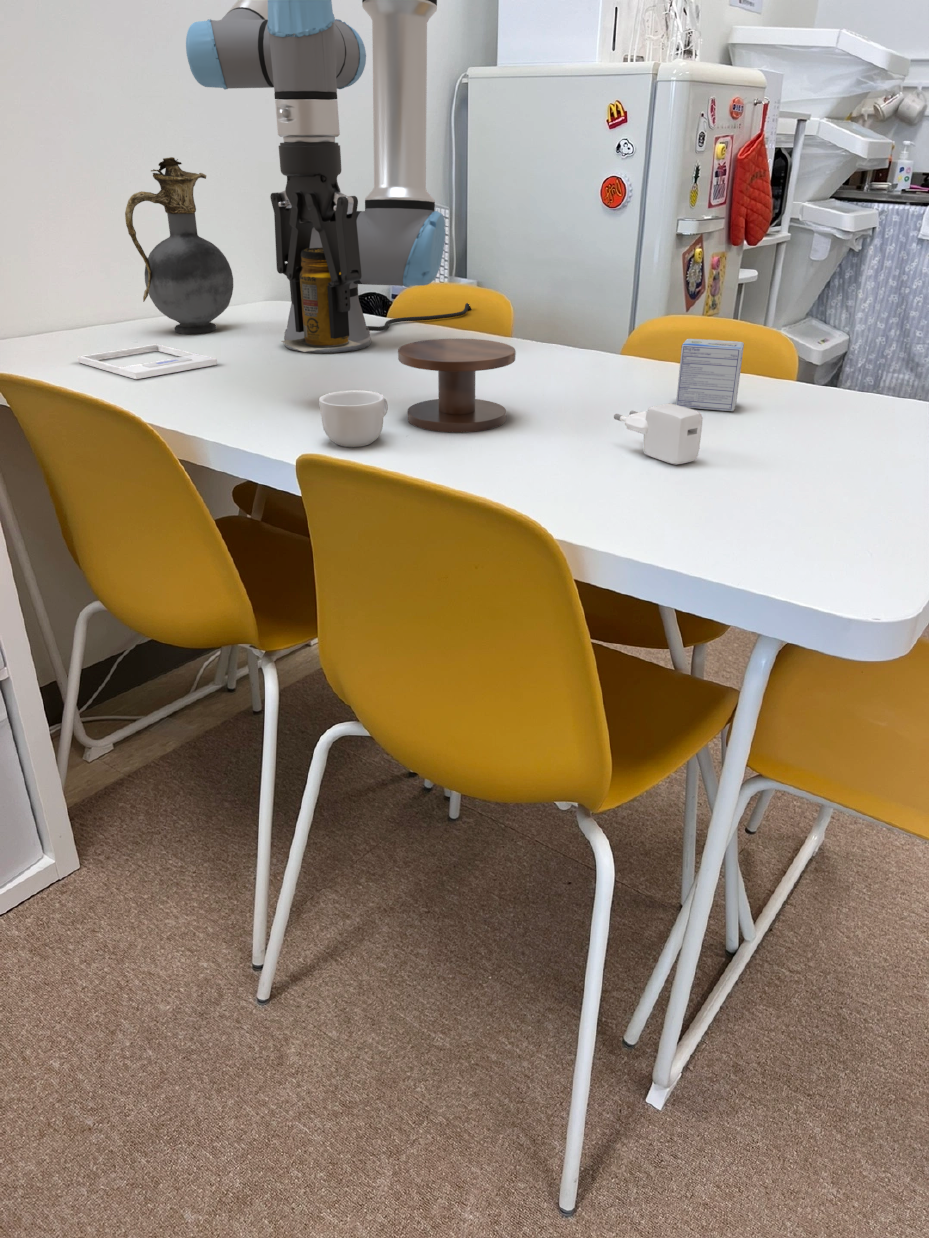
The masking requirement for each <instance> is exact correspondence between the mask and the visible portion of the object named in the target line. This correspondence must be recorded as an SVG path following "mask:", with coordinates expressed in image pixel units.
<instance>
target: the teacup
mask: <svg viewBox="0 0 929 1238" xmlns="http://www.w3.org/2000/svg"><path fill="white" fill-rule="evenodd" d="M318 406H319V411H320V417H321V418H320V419H321V425H322V428H323V431H324V433H325V435H326V436H327V438H328V439H329V440H330V441H331V442H333V443H334V444H335V445H337V446H340V447H344V448H361V447H366V446H369V445H371V444H372V443H374V441H376V440H377V439H378V438H379V436H380V435H381V433H382V431H383V427H384V418H385V417H386V415H387V413H388V410H389V404H388V401H387V399H386V398H385V396H384V394H382V393H380V392H377V391H373V390H372V391H371V390H362V389H361V390H360V389H353V390H351V389H349V390H348V389H347V390H339V391H332V392H329V393H326V394H323V395H321V396H319V398H318Z"/></svg>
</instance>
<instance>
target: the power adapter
mask: <svg viewBox="0 0 929 1238" xmlns="http://www.w3.org/2000/svg"><path fill="white" fill-rule="evenodd" d="M613 419H614V420H616V421H619V422H623V423H624V426H625V428H626V429H627V430H630V431H632V432H636V433H638V434H642V435H643V442H642V443H643V444H642V445H643V446H642V447H643V448H642V450H643V453H644V454H645V455H646V456H648V457H651V458H653V459H656V460H657V461H658V460H659V461H662V462H665V463H667V464H671V465H682V464H686V463H690V462H694V461H696V460H697V458H698V456H699V453H700V447H701V439H702V431H703V419H704V418H703V415H702V413H701V412H700V411H698V410H696V409H694V408H686V407H683V406H679V405H676V403H663V404H657V405H654V406H650V407H648V408H647V410H646V411H640V412H638V411H636V410H630V411H629V413H628V416H625V415H623V414H619V413H615V414H614V415H613Z"/></svg>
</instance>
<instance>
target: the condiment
mask: <svg viewBox="0 0 929 1238" xmlns="http://www.w3.org/2000/svg"><path fill="white" fill-rule="evenodd" d="M301 258H302V262H301V266H302V267H303V269H302V271H301V273H300V288H301V301H302V314H303V327H304V338H302V339H297V340H280V342H281V343H283V345H285V344H286V345H288V346H290V347H293V348H294V349H298V350H301V351H300V352H302V351H303V352H304V353H307V352H306V351H314V350H321V349H331V348H341V347H349V346H356V345H360V343H356V342H353V341H350V340H348V338H349V336H345V337H341V338H336V339H333V338H331V335H330V319H329V304H328V289H327V286H329V285H328V283H330V282H332V281H331V277H330V273H329V270H328V266H327V262H326V258H325V255H324V251H323V248H308V249H304V250H302V252H301ZM340 274H341V272H340V273H339V275H340ZM303 352H302V353H303Z"/></svg>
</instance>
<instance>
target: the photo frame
mask: <svg viewBox="0 0 929 1238" xmlns="http://www.w3.org/2000/svg"><path fill="white" fill-rule="evenodd" d="M155 351H156V352H161V353H164V354H169V355H172V356H176V357H173V358H168V359H167V358H166V359H162V360H156V361H150V362H144V363H138V364H132V365H126V366H118V365H114V364H110V363H107V362H104V361H100V360H106V359H112V358H113V359H114V358H120V357H125V356H131V355H136V354H138V355H139V354H143V353H149V352H155ZM76 357H77V362H78V363H79V364H82V365H86V366H90V367H92V368H96V369H100V370H103V371H107V372H110V373H113V374H117V375H121V376H123V377H127V378H131V379H134V380H140V379H145V378H150V377H157V376H161V375H167V374H172V373H177V372H178V373H179V372H183V371H188V370H195V369H199V368H200V369H201V368H205V367H212V366H216V365H218V359H217V357H211V356H208V355H203V354H200V353H195V352H191V351H188V350H183V349H179V348H175V347H170V346H166V345H162V344H158V343H154V344H148V345H142V346H135V347H129V348H122V349H116V350H110V351H104V352H98V353H91V354H84V355H78V356H77V355H76Z"/></svg>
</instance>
